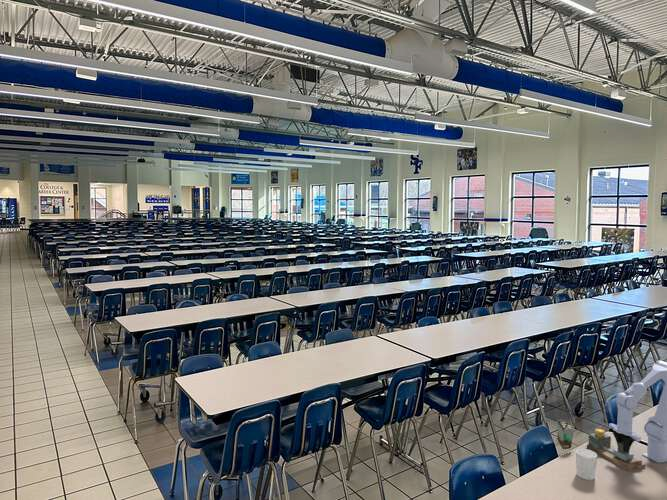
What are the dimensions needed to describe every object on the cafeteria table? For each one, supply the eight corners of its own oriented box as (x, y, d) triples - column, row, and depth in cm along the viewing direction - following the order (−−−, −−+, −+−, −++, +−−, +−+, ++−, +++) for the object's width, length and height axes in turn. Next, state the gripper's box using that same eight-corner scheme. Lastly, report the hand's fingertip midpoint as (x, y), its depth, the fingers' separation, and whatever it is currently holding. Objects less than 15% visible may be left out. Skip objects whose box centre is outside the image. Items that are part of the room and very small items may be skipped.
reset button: (599, 438, 229) (599, 428, 228) (606, 441, 225) (606, 431, 224) (592, 439, 227) (593, 429, 227) (599, 442, 224) (600, 432, 223)
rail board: (603, 444, 230) (603, 431, 230) (645, 467, 209) (645, 453, 209) (586, 447, 227) (587, 434, 227) (627, 470, 206) (628, 456, 206)
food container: (577, 451, 223) (578, 430, 223) (563, 450, 224) (564, 429, 224) (569, 439, 235) (570, 420, 235) (556, 438, 236) (557, 418, 236)
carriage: (621, 453, 218) (622, 439, 217) (633, 460, 212) (634, 445, 212) (613, 455, 216) (613, 440, 216) (624, 461, 210) (625, 446, 210)
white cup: (578, 469, 207) (579, 446, 207) (598, 476, 202) (599, 453, 201) (572, 475, 202) (573, 452, 201) (592, 483, 196) (593, 459, 196)
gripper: (604, 415, 219) (602, 443, 220) (632, 428, 205) (631, 458, 206) (616, 413, 221) (614, 441, 222) (645, 426, 207) (643, 456, 208)
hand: (623, 450), depth 214 cm, fingers closed on carriage, 2 cm apart
